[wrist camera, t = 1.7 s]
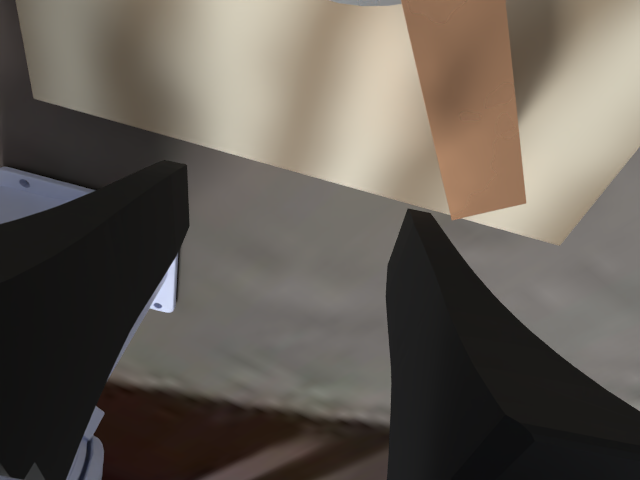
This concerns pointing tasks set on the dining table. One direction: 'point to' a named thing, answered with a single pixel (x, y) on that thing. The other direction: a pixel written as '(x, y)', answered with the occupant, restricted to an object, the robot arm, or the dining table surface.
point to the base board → (348, 90)
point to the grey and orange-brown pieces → (467, 99)
